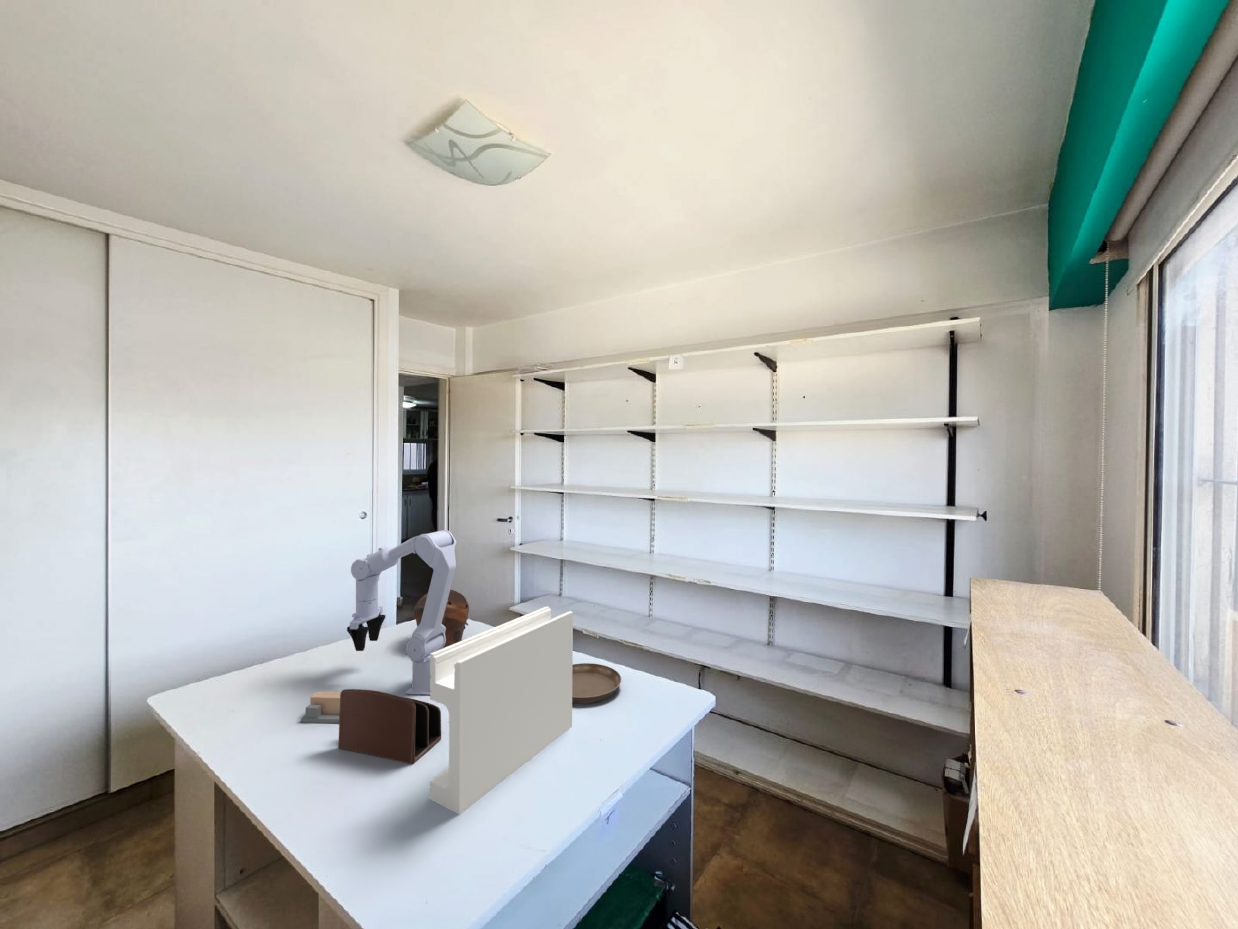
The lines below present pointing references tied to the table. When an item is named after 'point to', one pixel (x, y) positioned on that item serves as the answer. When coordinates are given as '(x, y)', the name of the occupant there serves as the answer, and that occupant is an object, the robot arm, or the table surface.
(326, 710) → the light brown rectangular bar
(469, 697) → the white panel with ledge
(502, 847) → the table surface
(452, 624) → the case
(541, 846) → the table surface
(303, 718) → the plate with corner studs
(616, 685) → the plant saucer
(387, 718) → the letter holder
